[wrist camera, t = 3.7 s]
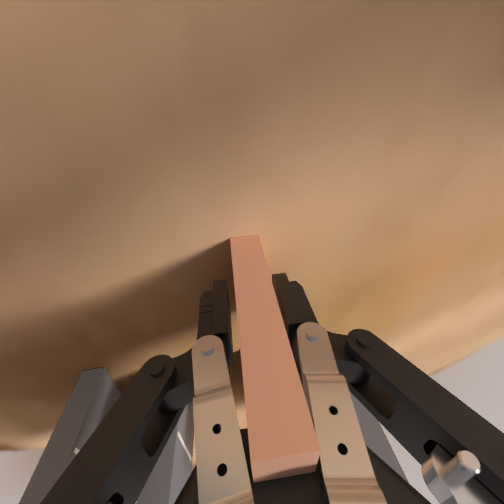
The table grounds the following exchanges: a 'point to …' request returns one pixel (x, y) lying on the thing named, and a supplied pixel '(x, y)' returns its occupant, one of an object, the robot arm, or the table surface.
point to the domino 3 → (269, 373)
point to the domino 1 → (72, 430)
